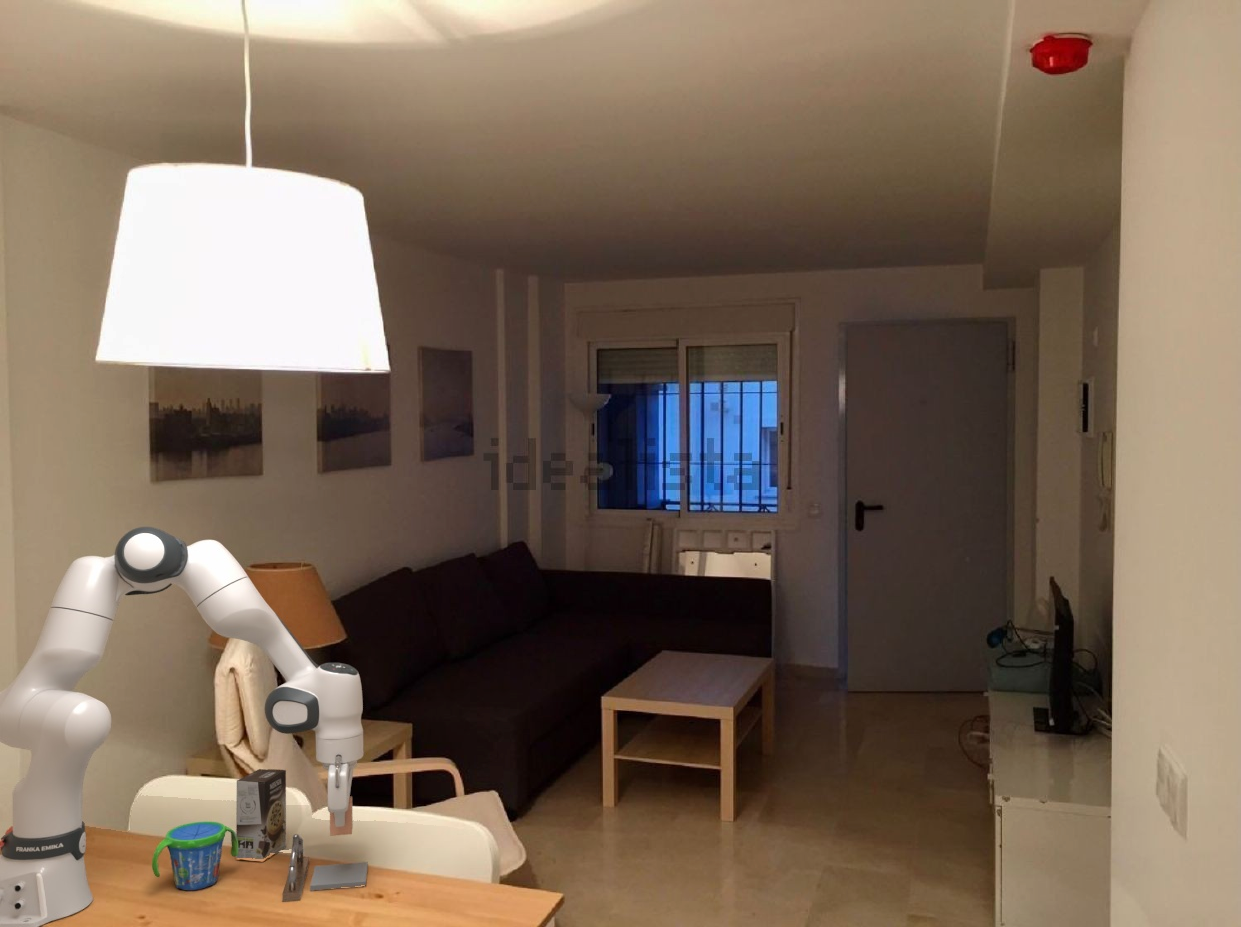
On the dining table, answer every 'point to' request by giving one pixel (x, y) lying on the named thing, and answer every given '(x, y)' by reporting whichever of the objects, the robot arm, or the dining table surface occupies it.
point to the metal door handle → (296, 871)
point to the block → (348, 822)
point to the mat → (339, 876)
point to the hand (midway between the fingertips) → (340, 820)
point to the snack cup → (195, 853)
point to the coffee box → (261, 813)
